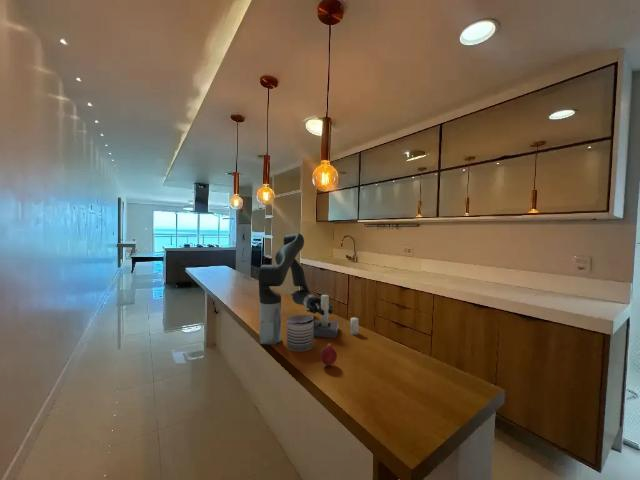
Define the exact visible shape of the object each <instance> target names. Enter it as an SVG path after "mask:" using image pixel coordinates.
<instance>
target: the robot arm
mask: <svg viewBox="0 0 640 480" xmlns="http://www.w3.org/2000/svg"><path fill="white" fill-rule="evenodd" d="M304 245H305V239H304V236H303V234H301V233H291V234H287V235H284V237H283V246H282V247H280V248H279V250H278V251H277V252H276V254H275V256H274V260H275V263H276V264H262V265H261V266H260V267H259V270H258V275H257V276H258V296H259V344H261V345H273V346H275V345H276V344H278V343H280V342H281V341H282V295H281V294H280V293H279V292H276V291H274V290H272V288H271V287H280V286H282V285H283V284H284V282H285V279H286V277H287V274H288V272H289V269H290V270H291V277H292V282H293V283H292V284H293V286H294V287H301V289H300V290H299V289H298V290H296V291H295V290H294V292H293V293H292V295H291V296H292V297H291V299H292V301H293V302H294V303H295V304H297V305H301V306H304V307H306V312H308V313H312V314H319V315H320V316H321V315H324V310H322V309H321V298H320V297H318V296H315V295H313V294H312V293H311V292H310V289H309V287H308V284H307V282H306V277H305V276H306V275H305V272H304V268H303V267H302V265H301V264H300V262H298V261H297V259H296V257H297V255H298V253H300V251H302V249H303V248H304ZM329 315H333V305H332V302H329Z"/></svg>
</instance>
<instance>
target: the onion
mask: <svg viewBox="0 0 640 480" xmlns="http://www.w3.org/2000/svg"><path fill="white" fill-rule="evenodd" d="M320 352H321V353H320V360H321V362H322V363H323V364H324V365H326V366H328V367H330V366H332V365H333V364H334V363H335V362H336V361H337V357H338V353H337V351H336V349H335V348H334V347H332V345H331V343H328V344H327V345H326V346H324V347H323V349H322V350H321V351H320Z"/></svg>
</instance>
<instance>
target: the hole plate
mask: <svg viewBox="0 0 640 480" xmlns="http://www.w3.org/2000/svg"><path fill="white" fill-rule="evenodd" d="M313 320H314V319H313ZM338 332H339V321H336V320H328V327H321V319H320V320H319V319H315V320H314V330H313V337H315V338H316V337H317V338H318V337H319V338H331V339H333V338H334V339H336V338H337V335H338Z"/></svg>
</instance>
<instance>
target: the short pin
mask: <svg viewBox="0 0 640 480" xmlns="http://www.w3.org/2000/svg"><path fill="white" fill-rule="evenodd" d="M350 335H352V336H356V335H359V318H357V317H351V318H350Z"/></svg>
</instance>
